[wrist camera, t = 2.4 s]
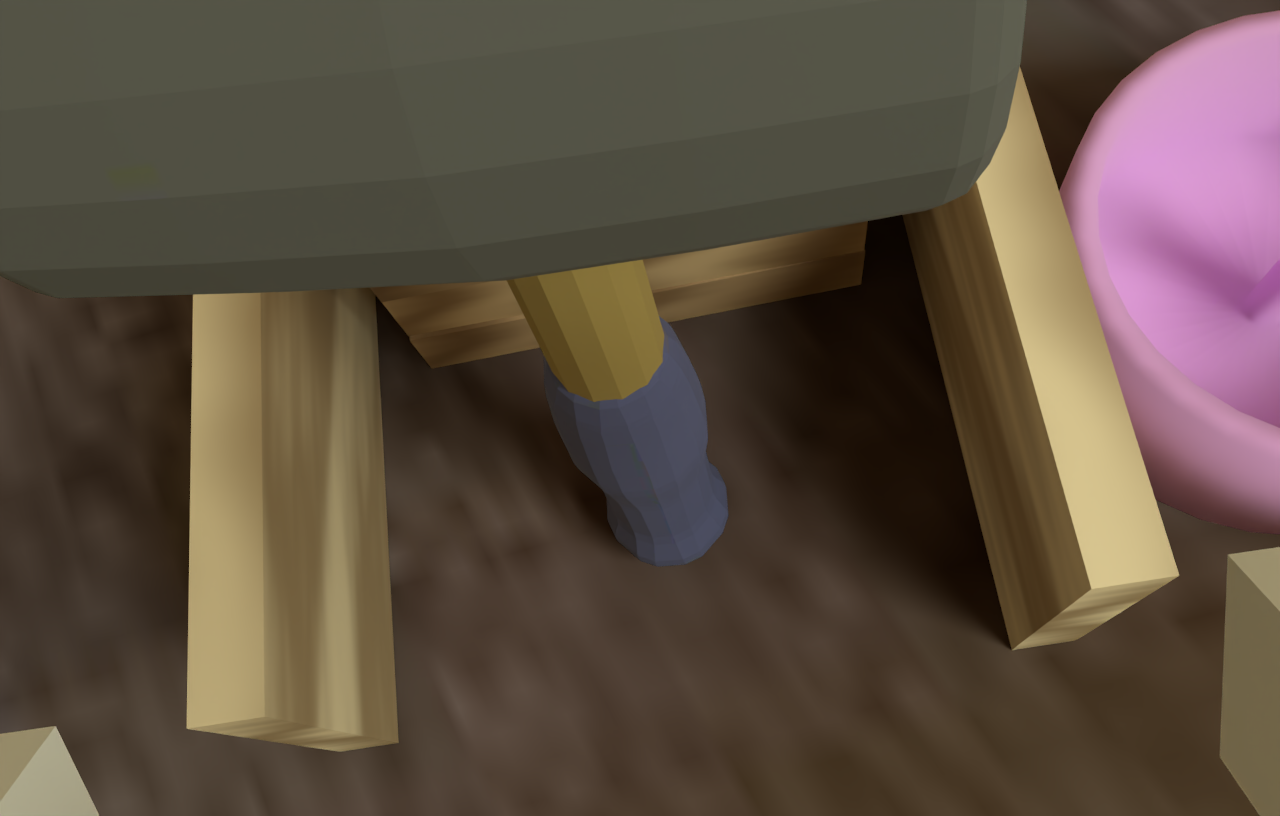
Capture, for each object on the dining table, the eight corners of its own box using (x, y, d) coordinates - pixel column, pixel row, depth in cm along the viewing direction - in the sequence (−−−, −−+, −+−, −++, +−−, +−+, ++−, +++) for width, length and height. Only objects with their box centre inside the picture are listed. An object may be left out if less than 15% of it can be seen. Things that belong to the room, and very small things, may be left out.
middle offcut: (408, 336, 39) (378, 298, 36) (399, 213, 41) (370, 168, 38) (863, 250, 38) (870, 205, 35) (834, 128, 40) (837, 75, 37)
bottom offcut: (435, 373, 42) (409, 340, 39) (424, 256, 43) (399, 217, 41) (860, 290, 41) (865, 251, 38) (830, 174, 42) (833, 129, 40)
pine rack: (339, 751, 37) (186, 728, 27) (321, 184, 45) (196, 16, 35) (1076, 640, 35) (1179, 575, 26) (920, 70, 43) (956, -138, 34)
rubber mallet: (844, 399, 39) (984, -691, 11) (870, 615, 36) (1146, -86, 8) (494, 431, 40) (-195, -472, 12) (494, 641, 37) (-387, 112, 9)
